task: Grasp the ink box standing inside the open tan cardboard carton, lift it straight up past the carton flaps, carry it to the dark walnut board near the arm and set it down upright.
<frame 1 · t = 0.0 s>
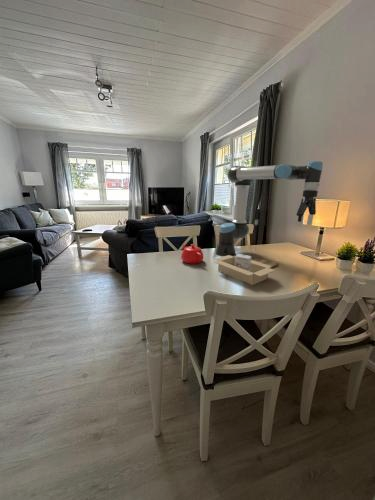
hand: (304, 226, 130), 28 cm above the table, fingers open, 13 cm apart
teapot: (191, 261, 148), on the table
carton: (241, 274, 127), on the table
ink box: (241, 274, 127), resting in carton
board: (263, 264, 144), on the table
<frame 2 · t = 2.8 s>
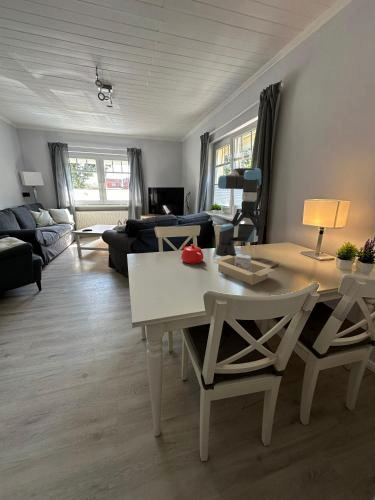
hand: (245, 239, 120), 22 cm above the table, fingers open, 13 cm apart
nothing on the table moved.
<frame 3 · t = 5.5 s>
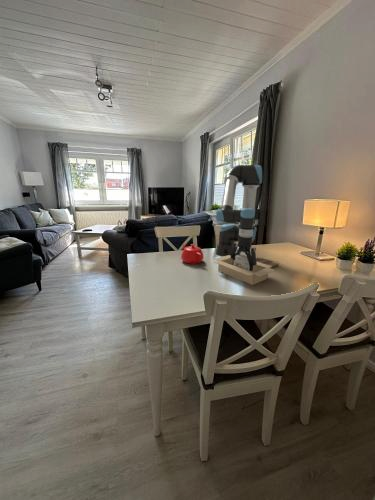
hand: (241, 272, 126), 1 cm above the table, fingers closed on ink box, 10 cm apart
ink box: (241, 274, 127), resting in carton, touching gripper
everything else where it was.
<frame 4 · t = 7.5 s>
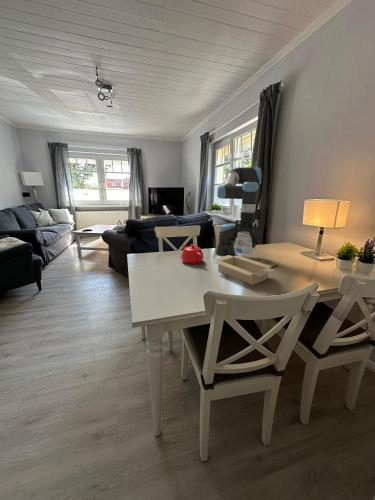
hand: (243, 250, 123), 15 cm above the table, fingers closed on ink box, 10 cm apart
ink box: (243, 252, 123), point 13 cm above the table, touching gripper
everything else where it was.
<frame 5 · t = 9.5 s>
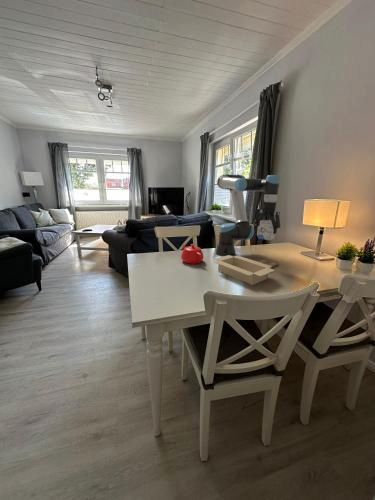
hand: (265, 237, 137), 19 cm above the table, fingers closed on ink box, 10 cm apart
ink box: (265, 239, 137), point 18 cm above the table, touching gripper
everything else where it was.
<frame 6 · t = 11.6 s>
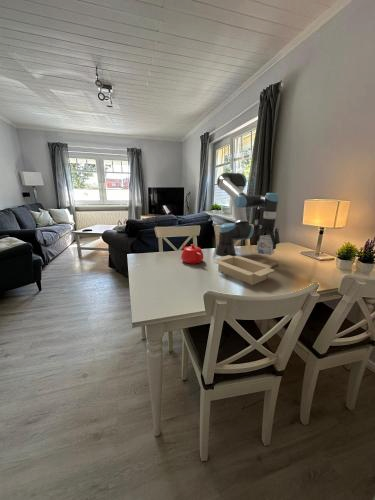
hand: (265, 251, 141), 9 cm above the table, fingers closed on ink box, 10 cm apart
ink box: (264, 253, 141), point 8 cm above the table, touching gripper
everything else where it was.
when the fingers open (4 cm above the table, at t = 13.5 s): ink box drops 2 cm, resting on board.
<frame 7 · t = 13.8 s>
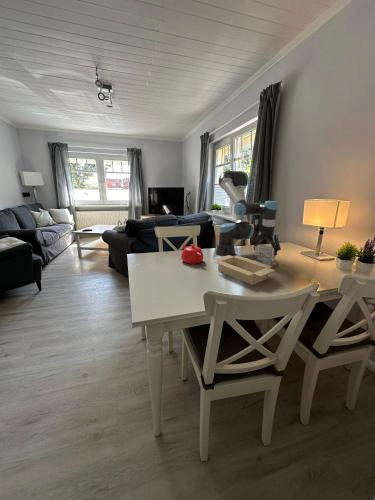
hand: (264, 257, 142), 5 cm above the table, fingers open, 12 cm apart
ink box: (263, 263, 143), point 1 cm above the table, touching board
everything else where it was.
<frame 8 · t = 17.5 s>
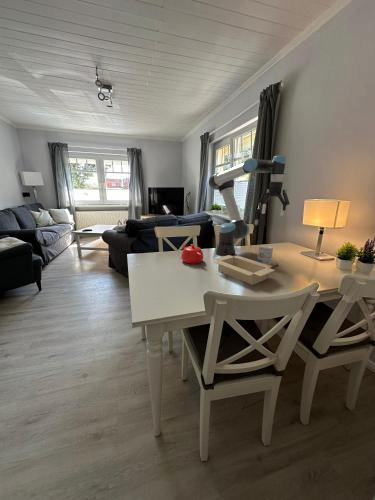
hand: (272, 214, 143), 33 cm above the table, fingers open, 13 cm apart
nothing on the table moved.
at the end: ink box inside the target area on the board (0.3 cm from its centre), point 1.0 cm above the board's base; ink box tilted 0°; the gripper is holding nothing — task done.
